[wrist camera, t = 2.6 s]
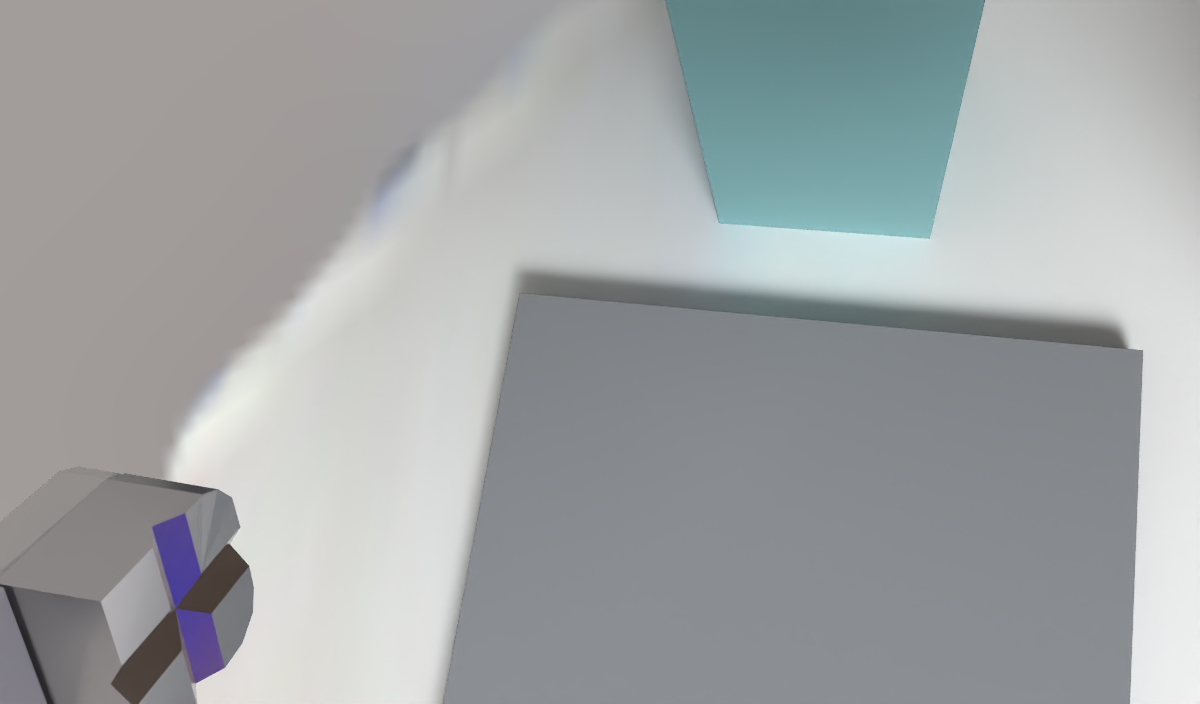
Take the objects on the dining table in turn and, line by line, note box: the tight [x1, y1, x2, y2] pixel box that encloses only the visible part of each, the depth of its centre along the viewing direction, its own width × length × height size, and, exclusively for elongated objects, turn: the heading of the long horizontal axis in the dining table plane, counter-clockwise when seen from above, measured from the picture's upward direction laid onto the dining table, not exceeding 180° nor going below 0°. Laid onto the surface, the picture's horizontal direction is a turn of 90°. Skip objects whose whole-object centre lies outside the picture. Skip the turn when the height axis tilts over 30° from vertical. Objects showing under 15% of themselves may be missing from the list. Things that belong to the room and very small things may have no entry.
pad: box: [443, 293, 1143, 704], centre depth 24 cm, size 14×14×1 cm
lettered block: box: [665, 0, 985, 238], centre depth 22 cm, size 5×5×10 cm
